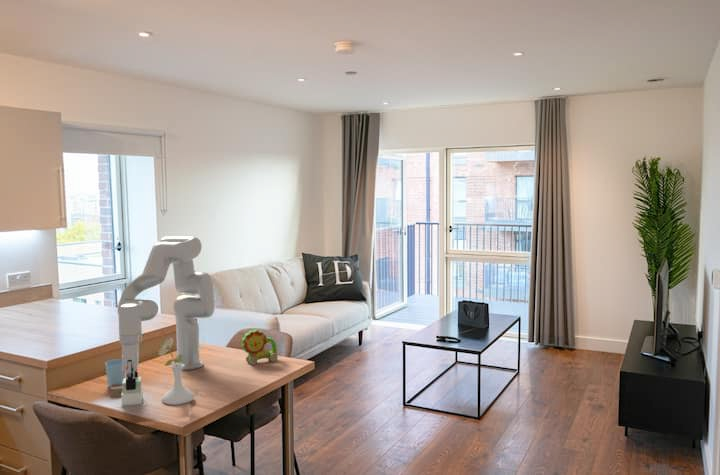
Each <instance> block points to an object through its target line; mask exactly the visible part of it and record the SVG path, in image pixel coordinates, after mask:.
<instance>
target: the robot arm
mask: <svg viewBox="0 0 720 475" xmlns="http://www.w3.org/2000/svg"><path fill="white" fill-rule="evenodd" d="M201 252H202V242H201V240H200V239H199V238H197V237H195V236H180V235H179V236H178V235H177V236H175V235H172V236H170V235H169V236H164V237H162V238H161V239H160V240H159V242H157V243H155V244H153V246H152V248H151V250H150V252H149V255H148V258H147V260H146V263H145V265H144V268H143V270H142V273H141V274H140V275H138V276H137V277H135V279H133V280H132V281H130V283H129V284H128V285H127V286H125V288H124V290H123V291H122V293H121V296H120V299H119V302H118V304H117V316H118V334H119V335H118V338H119V345H121V359H122V371H123V372H124V371H125V378H126V390H135V389H136V378H135V377H139V376H138V375H139V374H138V366H139V362H140V361H139V359H140V357H139V356H140V353H139V352H140V348H139V344H140V343H142V342H143V335H142V332H143V331H142V322H145V321H146V322H147V321H150V320H153V319H154V318H155V317H156V316H157V314H158V313H159V306H158V304H157V302H156V301H154V300H150V299H141V298H140V299H139V298H138V299H136V297H137V296H138V295H140V293H143V292H144V291H145V290H148V289H151V288H153V287H156V286H159V285H160V284H162V283H163V282H164V281H165V280H166V277H167V273H168V271H169V268H170V265H171V264H172V270H173V276H174V278H173V279H174V287H175V290H176V292H178V293H179V294H186V295H180V296H178V297H176V298H175V299H174V302H173V305H172V306H173V313H174V318H175V326H176V327H175V330H176V357H177V356H178V355H180V354H181V357H182V360H181V361H180V362H178V363H176V364H184V365H185V366H184V367H183V369H182V371H190V370H197V369H199V368H201V367H203V365H204V361H203V360H201V359H200V326H199V323H198V321H197V320H196V319H197V318H198V319H208V318H210V317H212V316H213V315H214V312H215V296H214V293H215V292H214V284H213V278H212V276H211V275H210V274H209V273H208V272H203V271H201V272H200V271H199V272H198V271H196V270H195V266H194V260H193V259H196V258H197V257H198V256H199V255H200V253H201ZM188 294H189V295H188ZM173 364H175V362H174V363H173Z"/></svg>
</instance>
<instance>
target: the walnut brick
mask: <svg viewBox="0 0 720 475" xmlns="http://www.w3.org/2000/svg"><path fill="white" fill-rule="evenodd" d="M122 392H123V391H122V384H113V385H112V386H111V387H109V394H110V395H109V396H110V397H119V396H121V394H122Z"/></svg>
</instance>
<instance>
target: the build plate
mask: <svg viewBox="0 0 720 475" xmlns="http://www.w3.org/2000/svg"><path fill="white" fill-rule="evenodd" d="M148 397H149V395H147V394H146V395H143V398H142V402H141V404H132V405H122V397H119V399H118V401H117V403H116V407H115V409H118V408H129V407H140V406H146V405H147V403H148Z"/></svg>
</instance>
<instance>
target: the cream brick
mask: <svg viewBox="0 0 720 475" xmlns="http://www.w3.org/2000/svg"><path fill="white" fill-rule="evenodd" d="M143 392H144V391H143V386H142V387H141V392H140V393H130V394H123V392H122V394H121V397H120V398H122V405H132V404H141V402H142V398H143V396H144V395H143V394H144V393H143Z"/></svg>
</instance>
